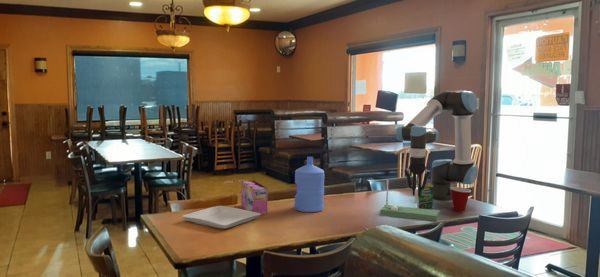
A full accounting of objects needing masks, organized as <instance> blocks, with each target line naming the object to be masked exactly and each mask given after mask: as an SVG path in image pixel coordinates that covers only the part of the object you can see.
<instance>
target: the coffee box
mask: <svg viewBox="0 0 600 277" xmlns="http://www.w3.org/2000/svg"><path fill="white" fill-rule="evenodd" d="M422 184H423V183H421V187H422ZM433 204H434V199H433V185H432V184H431V183H428V184H425V188H424V189H422V190H421V195H420V196H418V203H416V205H417V207H416V208H420V209H434V208H433V207H434V205H433Z"/></svg>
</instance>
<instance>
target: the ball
mask: <svg viewBox="0 0 600 277" xmlns="http://www.w3.org/2000/svg"><path fill="white" fill-rule="evenodd" d="M396 206H397V205H392V207H391V209H390V210H398V208H397V207H396Z"/></svg>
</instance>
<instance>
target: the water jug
mask: <svg viewBox="0 0 600 277" xmlns="http://www.w3.org/2000/svg"><path fill="white" fill-rule="evenodd" d="M294 172H295V174H294V183H295V184H296V194H295V195H294V205H293V207H294V209H295V210H296V211H298V212H303V213H318V212H321V211H323V210H324V207H325V203H324V200H325V199H324V198H325V171H324V169H322V168H320V167H318V166H316V165H314V156H307V157H306V165H302V166H301V167H299V168H297V169H296V170H294Z"/></svg>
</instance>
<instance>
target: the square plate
mask: <svg viewBox="0 0 600 277" xmlns="http://www.w3.org/2000/svg"><path fill="white" fill-rule="evenodd" d="M260 216H261V213H256V212H252V211H247V210H246V209H244V208H243V209H242V208H237V207H232V206H226V205H225V206H224V205H216V206H213V207H208V208H205V209H204V208H203V209H200V210H197V211H194V212H190V213H187V214H183V215H181V217H182V218H183V219H184V220H186V221H187V222H191V223H195V224H197V225H201V226H206V227H211V228H216V229H223V230H224V229H225V230H226V229H230V228H233V227H236V226H239V225H241V224H244V223H247V222H250V221H253V220H255V219H257V218H259V217H260Z"/></svg>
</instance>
